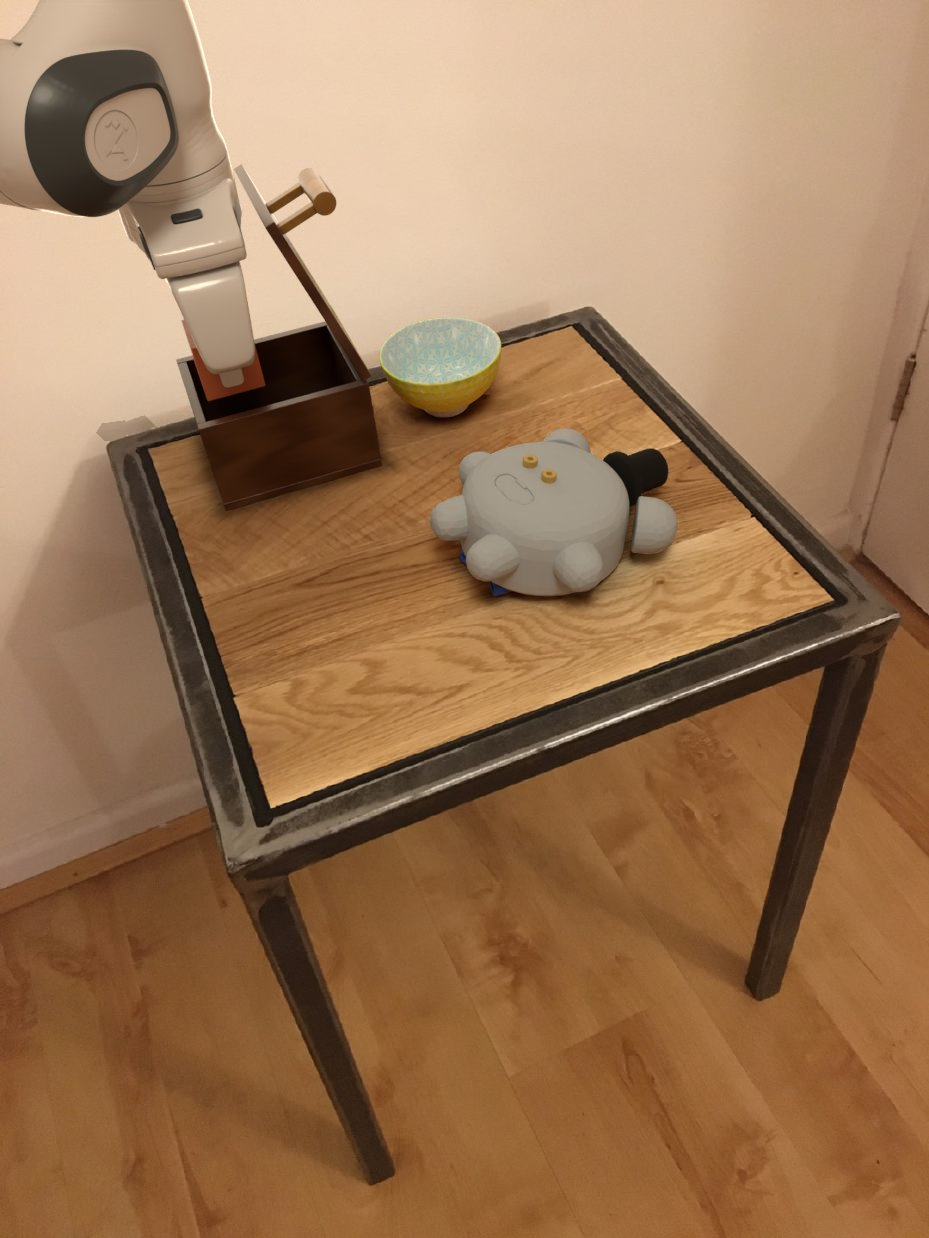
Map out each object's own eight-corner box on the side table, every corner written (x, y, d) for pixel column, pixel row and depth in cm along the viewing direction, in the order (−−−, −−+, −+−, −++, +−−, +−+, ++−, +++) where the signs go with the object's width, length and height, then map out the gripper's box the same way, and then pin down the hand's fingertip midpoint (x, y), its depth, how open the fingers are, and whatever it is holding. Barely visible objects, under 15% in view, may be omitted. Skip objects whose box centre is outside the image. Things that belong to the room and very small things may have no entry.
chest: (225, 511, 84) (198, 429, 78) (202, 439, 92) (175, 359, 86) (382, 465, 87) (368, 383, 81) (347, 399, 95) (332, 319, 88)
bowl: (364, 403, 94) (354, 347, 90) (457, 358, 98) (452, 303, 94) (432, 456, 88) (425, 399, 83) (528, 405, 92) (526, 348, 88)
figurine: (511, 658, 70) (716, 568, 78) (518, 571, 64) (739, 482, 72) (397, 529, 81) (588, 461, 88) (394, 444, 75) (599, 379, 82)
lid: (265, 228, 69) (330, 185, 69) (233, 169, 76) (291, 130, 76) (364, 381, 81) (420, 345, 80) (327, 317, 88) (379, 284, 88)
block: (207, 401, 80) (191, 349, 77) (197, 371, 83) (181, 320, 80) (265, 386, 81) (252, 333, 78) (253, 357, 84) (239, 305, 81)
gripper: (119, 159, 77) (169, 315, 87) (155, 269, 64) (210, 438, 74) (196, 143, 78) (237, 298, 88) (247, 247, 65) (289, 416, 75)
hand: (225, 363), depth 81 cm, fingers closed on block, 5 cm apart
